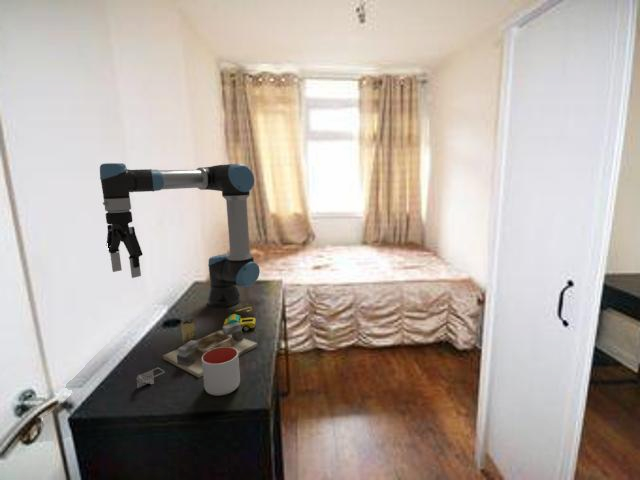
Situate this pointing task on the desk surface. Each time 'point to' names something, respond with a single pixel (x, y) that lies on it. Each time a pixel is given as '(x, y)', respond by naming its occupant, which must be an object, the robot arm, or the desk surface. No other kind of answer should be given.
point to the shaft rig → (209, 348)
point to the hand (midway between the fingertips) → (126, 273)
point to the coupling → (188, 330)
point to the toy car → (241, 321)
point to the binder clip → (147, 377)
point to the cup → (221, 370)
